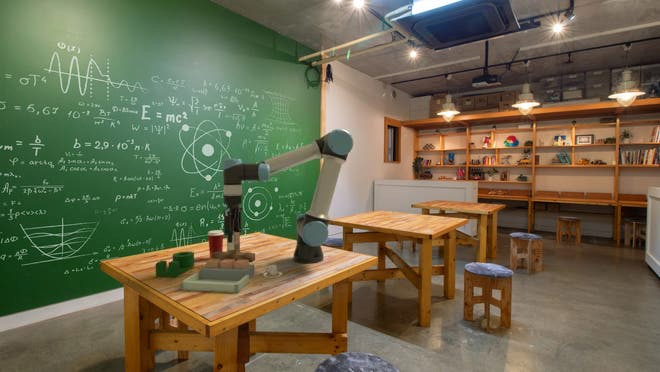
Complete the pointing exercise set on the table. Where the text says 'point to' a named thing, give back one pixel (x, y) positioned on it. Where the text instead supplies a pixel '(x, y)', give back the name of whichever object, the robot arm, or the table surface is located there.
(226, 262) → the tile
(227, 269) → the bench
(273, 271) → the teacup and saucer
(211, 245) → the paper cup
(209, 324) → the table surface
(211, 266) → the tile
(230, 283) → the tray
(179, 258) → the green bracket
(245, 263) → the tile
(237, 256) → the scraper
